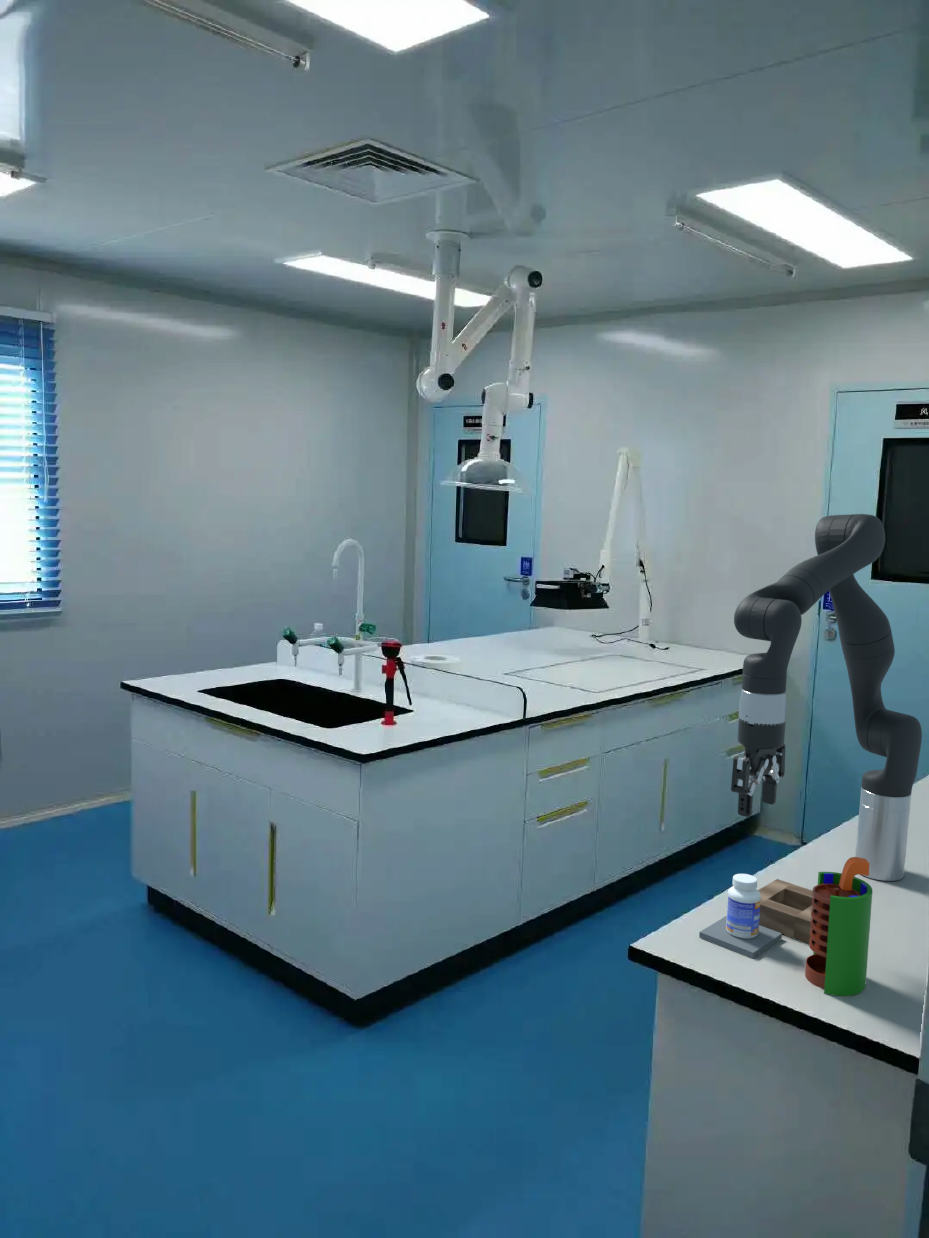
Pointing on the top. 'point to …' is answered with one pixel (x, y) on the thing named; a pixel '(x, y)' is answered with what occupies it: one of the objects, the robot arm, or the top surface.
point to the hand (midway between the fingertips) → (756, 809)
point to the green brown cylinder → (840, 930)
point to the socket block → (786, 909)
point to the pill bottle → (743, 907)
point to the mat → (740, 939)
